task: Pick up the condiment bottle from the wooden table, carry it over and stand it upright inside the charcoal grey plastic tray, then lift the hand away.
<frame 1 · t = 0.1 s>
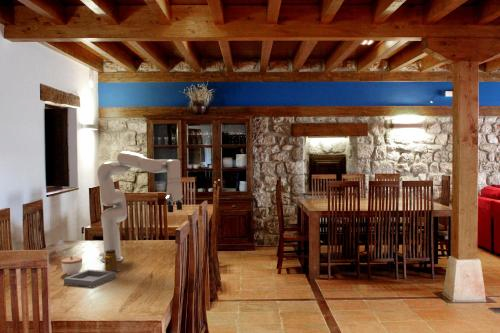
hand: (175, 211, 270), 31 cm above the table, tool pointing down, fingers open, 9 cm apart
lidded jar: (72, 273, 259), on the table
tray: (90, 280, 243), on the table
condiment: (112, 272, 260), on the table
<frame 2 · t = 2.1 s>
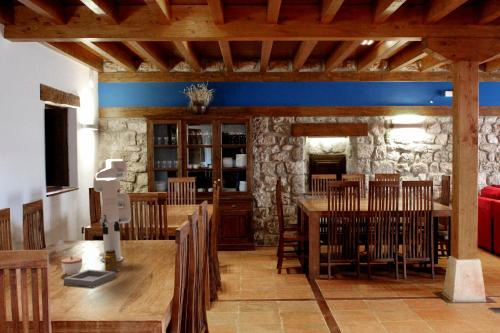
hand: (111, 232, 259), 22 cm above the table, tool pointing down, fingers open, 9 cm apart
nothing on the table moved.
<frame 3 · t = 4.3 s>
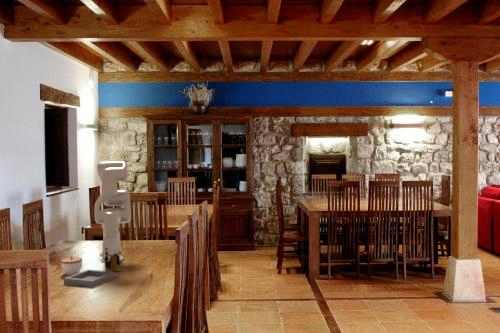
hand: (112, 266, 260), 3 cm above the table, tool pointing down, fingers open, 7 cm apart
condiment: (113, 272, 260), on the table, touching gripper
everything else where it was.
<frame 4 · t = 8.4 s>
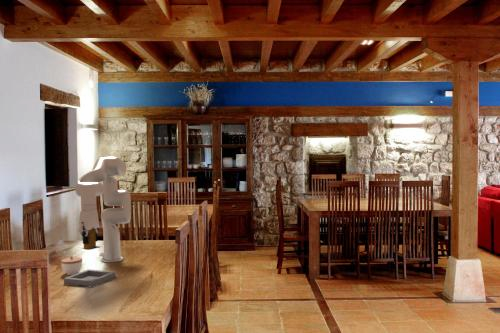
hand: (90, 242, 243), 20 cm above the table, tool pointing down, fingers closed on condiment, 6 cm apart
condiment: (91, 248, 244), point 16 cm above the table, touching gripper
everything else where it was.
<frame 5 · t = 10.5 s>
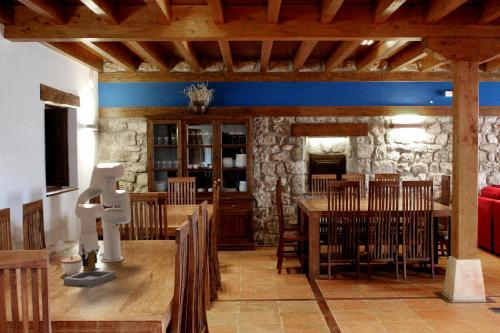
hand: (89, 264, 243), 9 cm above the table, tool pointing down, fingers closed on condiment, 6 cm apart
condiment: (91, 270, 244), point 5 cm above the table, touching gripper
everything else where it was.
when the fingers open (5 cm above the table, at t = 12.2 s): condiment drops 1 cm, resting on tray.
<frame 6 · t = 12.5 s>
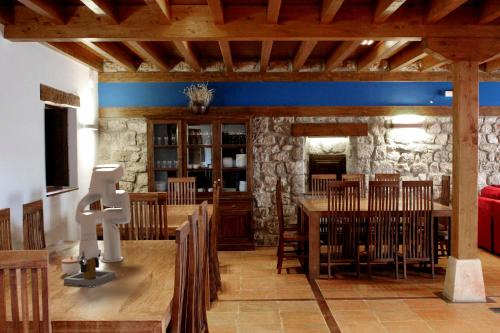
hand: (90, 269, 243), 6 cm above the table, tool pointing down, fingers open, 9 cm apart
condiment: (91, 279, 244), resting on tray
everything else where it was.
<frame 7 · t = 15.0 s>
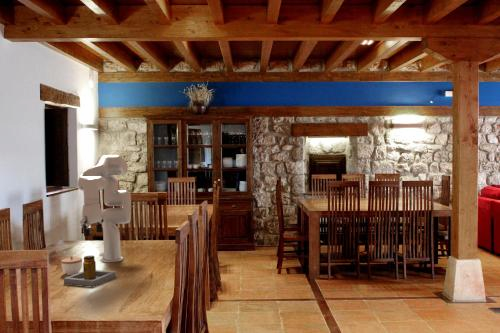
hand: (93, 234, 247), 23 cm above the table, tool pointing down, fingers open, 9 cm apart
nothing on the table moved.
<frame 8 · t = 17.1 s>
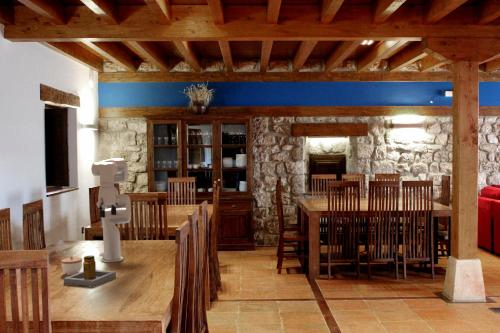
hand: (108, 216, 263), 30 cm above the table, tool pointing down, fingers open, 9 cm apart
nothing on the table moved.
at the end: condiment inside the target area on the tray (1.0 cm from its centre), point 0.4 cm above the tray's base; condiment tilted 0°; the gripper is holding nothing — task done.
